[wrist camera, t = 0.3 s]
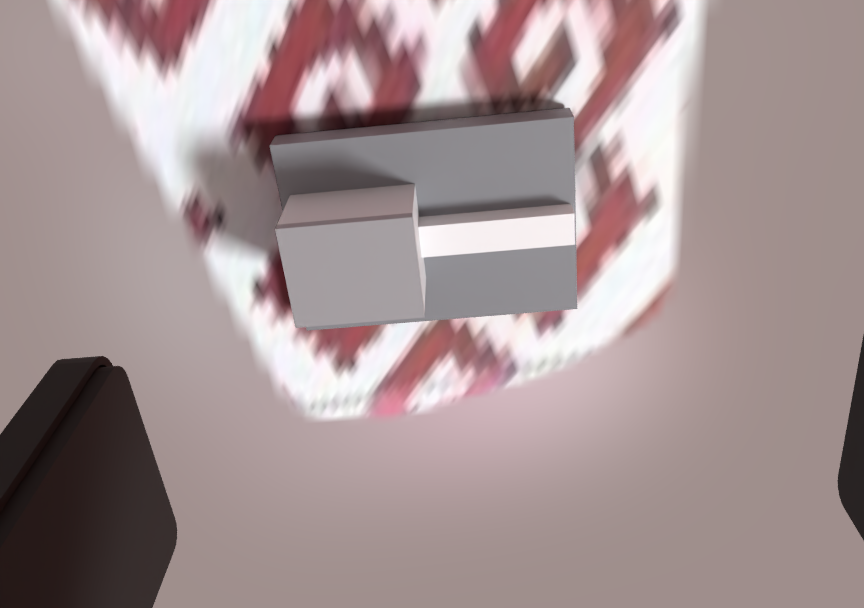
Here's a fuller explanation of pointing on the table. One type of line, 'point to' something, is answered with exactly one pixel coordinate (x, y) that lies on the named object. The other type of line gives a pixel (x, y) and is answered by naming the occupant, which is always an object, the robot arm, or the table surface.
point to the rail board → (428, 219)
